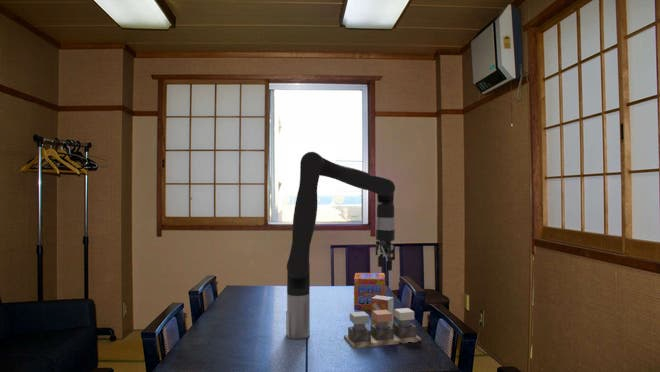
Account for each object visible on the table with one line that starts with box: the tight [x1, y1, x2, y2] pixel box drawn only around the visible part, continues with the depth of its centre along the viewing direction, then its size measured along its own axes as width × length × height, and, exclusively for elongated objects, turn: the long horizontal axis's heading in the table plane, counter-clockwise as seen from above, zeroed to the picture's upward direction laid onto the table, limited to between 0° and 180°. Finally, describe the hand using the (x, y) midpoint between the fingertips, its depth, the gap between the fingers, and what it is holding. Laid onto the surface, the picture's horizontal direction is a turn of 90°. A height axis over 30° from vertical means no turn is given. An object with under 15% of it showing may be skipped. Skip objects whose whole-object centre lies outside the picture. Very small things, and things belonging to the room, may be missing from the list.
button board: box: [343, 322, 422, 349], centre depth 183 cm, size 28×12×5 cm, turn 105°
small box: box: [370, 295, 395, 327], centre depth 199 cm, size 8×6×13 cm
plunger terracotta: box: [372, 310, 392, 329], centre depth 183 cm, size 6×6×7 cm
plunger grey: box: [349, 310, 370, 331], centre depth 181 cm, size 6×6×7 cm
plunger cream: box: [393, 307, 415, 327], centre depth 186 cm, size 6×6×7 cm
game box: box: [353, 272, 386, 311], centre depth 235 cm, size 16×16×16 cm
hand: (384, 268), depth 187 cm, fingers open, 8 cm apart
